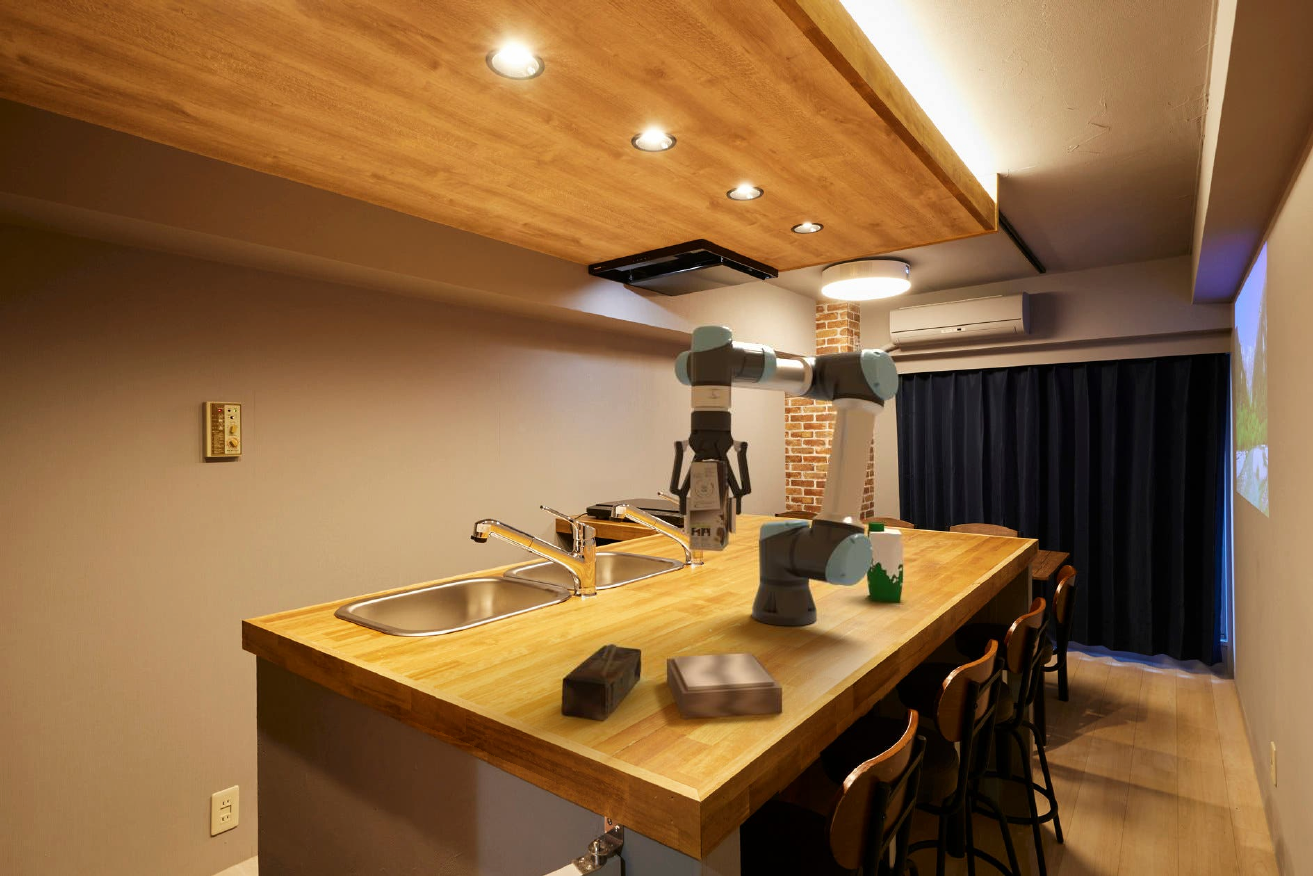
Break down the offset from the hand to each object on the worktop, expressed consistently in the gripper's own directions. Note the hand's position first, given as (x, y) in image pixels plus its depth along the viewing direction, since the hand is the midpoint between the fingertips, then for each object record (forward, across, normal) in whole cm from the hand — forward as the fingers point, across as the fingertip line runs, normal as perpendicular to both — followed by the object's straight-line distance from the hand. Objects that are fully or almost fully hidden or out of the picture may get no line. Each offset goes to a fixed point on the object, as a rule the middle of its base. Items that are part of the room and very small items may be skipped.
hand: (709, 532), depth 126 cm
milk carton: (+25, +56, +47) cm, 77 cm away
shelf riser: (+26, 0, -12) cm, 29 cm away
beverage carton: (+27, -20, -10) cm, 35 cm away
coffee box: (+3, 0, 0) cm, 3 cm away
